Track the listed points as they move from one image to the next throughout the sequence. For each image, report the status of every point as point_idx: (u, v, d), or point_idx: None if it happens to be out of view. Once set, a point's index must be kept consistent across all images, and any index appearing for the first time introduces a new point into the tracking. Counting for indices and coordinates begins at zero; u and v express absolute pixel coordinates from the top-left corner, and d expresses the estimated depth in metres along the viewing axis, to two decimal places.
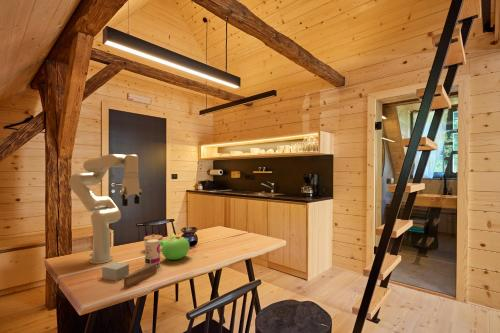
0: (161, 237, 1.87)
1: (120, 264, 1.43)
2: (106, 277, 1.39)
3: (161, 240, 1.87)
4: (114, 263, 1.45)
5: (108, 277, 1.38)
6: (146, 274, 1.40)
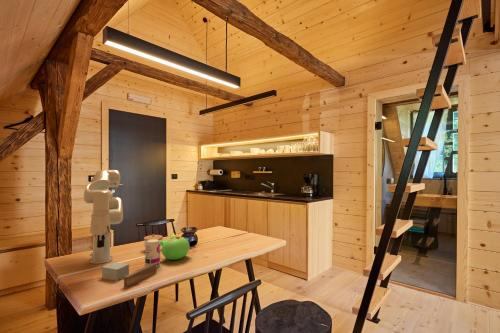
0: (161, 237, 1.87)
1: (120, 264, 1.43)
2: (106, 277, 1.39)
3: (161, 240, 1.87)
4: (114, 263, 1.45)
5: (108, 277, 1.38)
6: (146, 274, 1.40)
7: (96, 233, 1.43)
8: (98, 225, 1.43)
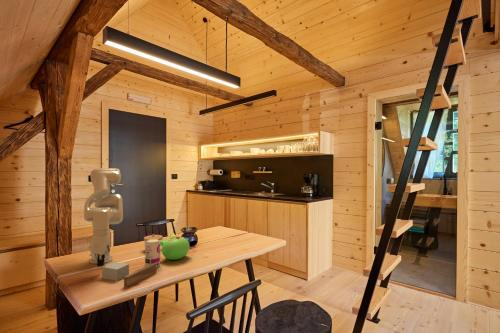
0: (161, 237, 1.87)
1: (120, 264, 1.43)
2: (106, 277, 1.39)
3: (161, 240, 1.87)
4: (114, 263, 1.45)
5: (108, 277, 1.38)
6: (146, 274, 1.40)
7: (96, 252, 1.43)
8: (98, 244, 1.43)
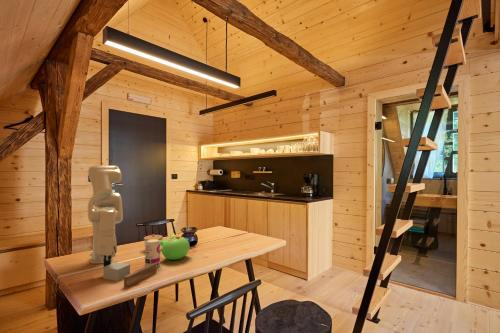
0: (161, 237, 1.87)
1: (121, 265, 1.43)
2: (107, 277, 1.39)
3: (161, 240, 1.87)
4: (115, 263, 1.45)
5: (109, 277, 1.38)
6: (146, 274, 1.40)
7: (103, 253, 1.41)
8: (105, 245, 1.41)
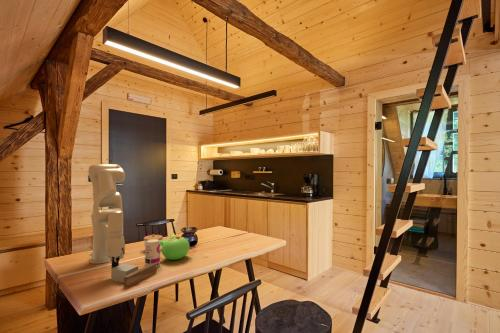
0: (161, 237, 1.87)
1: (129, 266, 1.41)
2: (115, 279, 1.37)
3: (161, 240, 1.87)
4: (123, 265, 1.43)
5: (117, 279, 1.36)
6: (146, 274, 1.40)
7: (111, 255, 1.39)
8: (113, 246, 1.39)
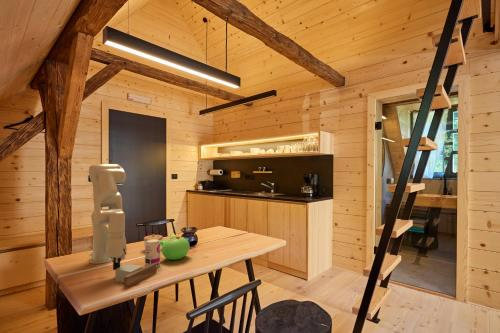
0: (161, 237, 1.87)
1: (133, 267, 1.40)
2: (119, 279, 1.36)
3: (161, 240, 1.87)
4: (127, 265, 1.42)
5: (122, 280, 1.35)
6: (146, 274, 1.40)
7: (112, 255, 1.39)
8: (114, 247, 1.39)
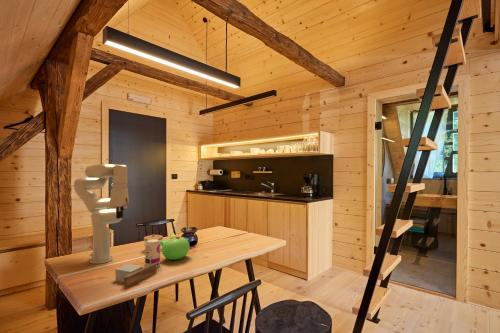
0: (161, 237, 1.87)
1: (133, 267, 1.40)
2: (120, 279, 1.36)
3: (161, 240, 1.87)
4: (127, 265, 1.42)
5: (122, 279, 1.35)
6: (146, 274, 1.40)
7: (115, 204, 1.51)
8: (117, 197, 1.51)
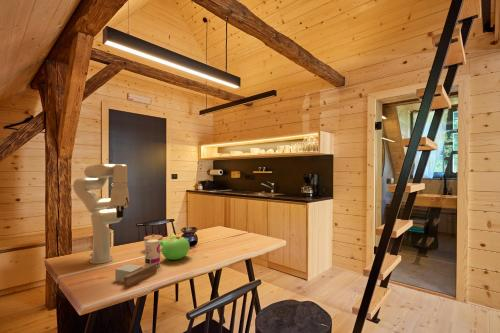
0: (161, 237, 1.87)
1: (133, 267, 1.40)
2: (120, 279, 1.36)
3: (161, 240, 1.87)
4: (127, 265, 1.42)
5: (122, 279, 1.35)
6: (146, 274, 1.40)
7: (116, 204, 1.52)
8: (118, 196, 1.51)
